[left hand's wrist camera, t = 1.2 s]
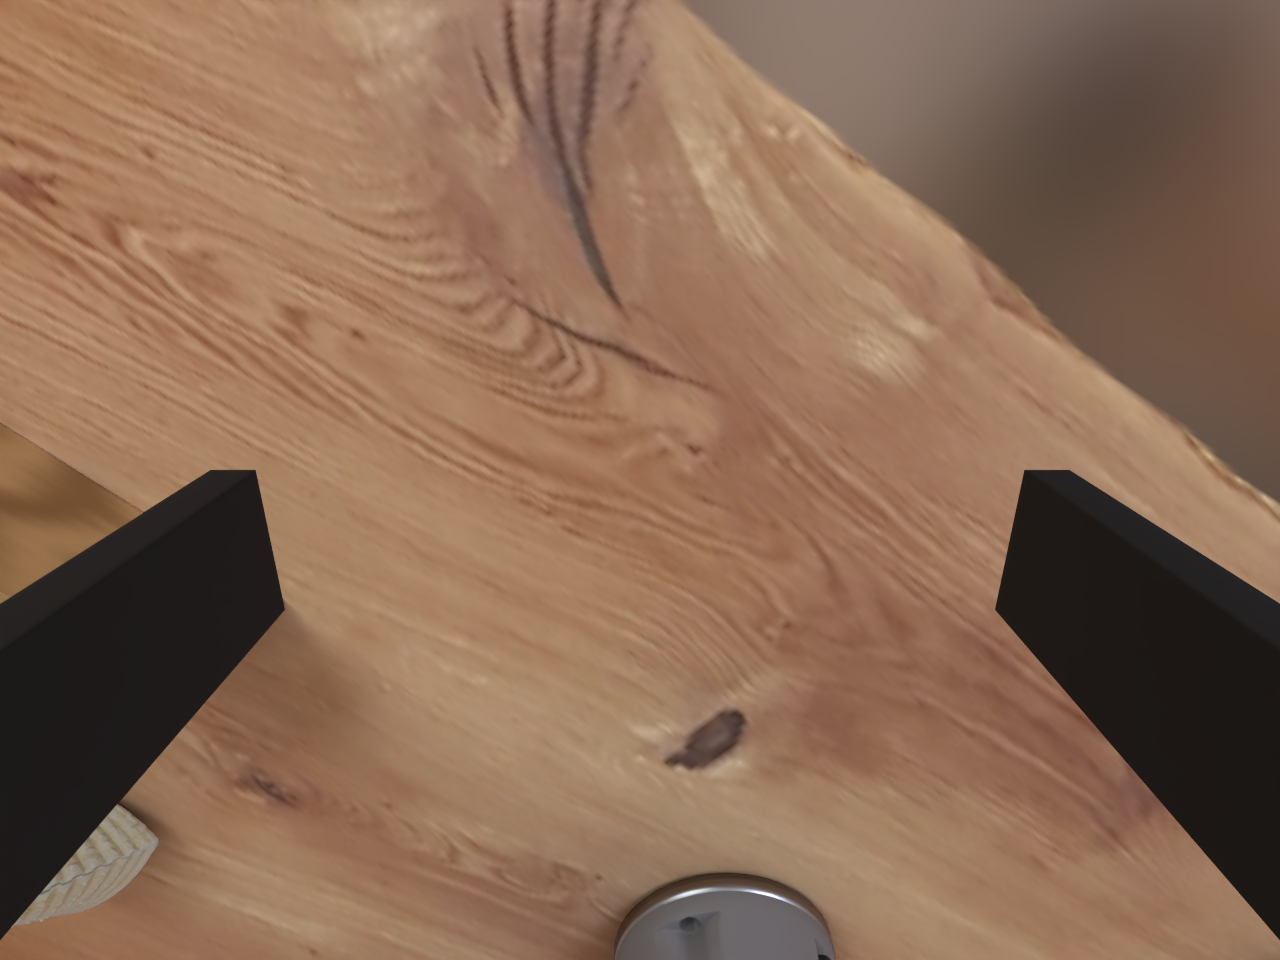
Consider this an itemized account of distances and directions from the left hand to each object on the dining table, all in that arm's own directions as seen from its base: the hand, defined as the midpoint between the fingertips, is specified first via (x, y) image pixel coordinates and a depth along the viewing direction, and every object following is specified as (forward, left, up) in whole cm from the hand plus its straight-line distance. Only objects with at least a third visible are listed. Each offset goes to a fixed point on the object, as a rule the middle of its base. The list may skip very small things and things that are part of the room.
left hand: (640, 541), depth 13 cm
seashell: (-44, +21, -24) cm, 54 cm away
